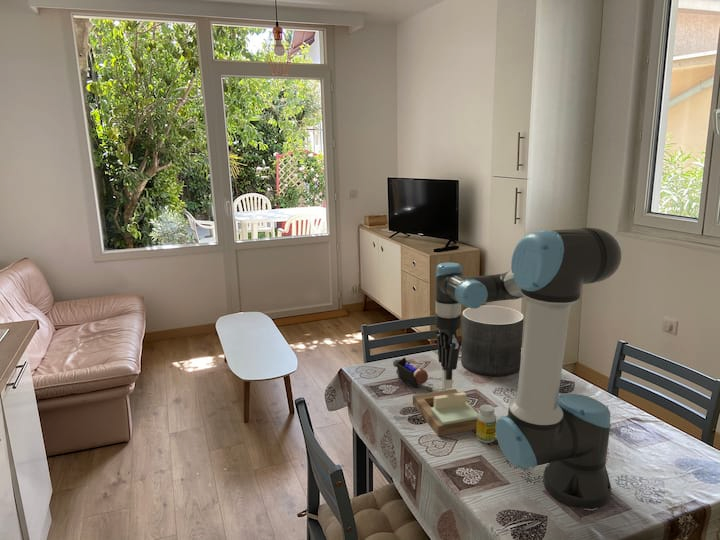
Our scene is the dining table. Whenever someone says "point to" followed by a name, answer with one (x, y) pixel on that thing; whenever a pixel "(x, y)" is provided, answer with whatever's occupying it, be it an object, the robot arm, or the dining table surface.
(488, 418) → the supplement bottle
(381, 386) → the dining table surface
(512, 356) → the planter
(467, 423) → the board
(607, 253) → the robot arm
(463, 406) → the cover
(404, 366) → the character figurine
